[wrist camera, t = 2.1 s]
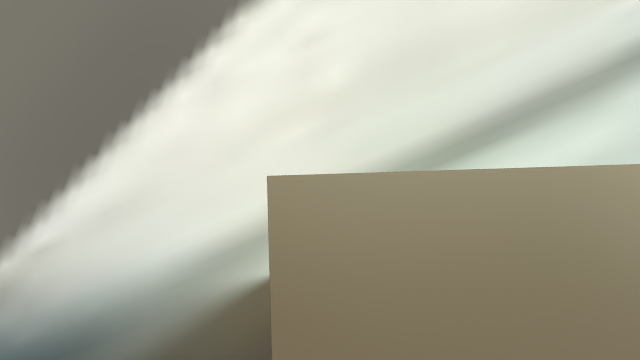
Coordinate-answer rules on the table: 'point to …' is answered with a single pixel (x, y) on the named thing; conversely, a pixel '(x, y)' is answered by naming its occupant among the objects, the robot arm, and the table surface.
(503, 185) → the post
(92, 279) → the table surface
